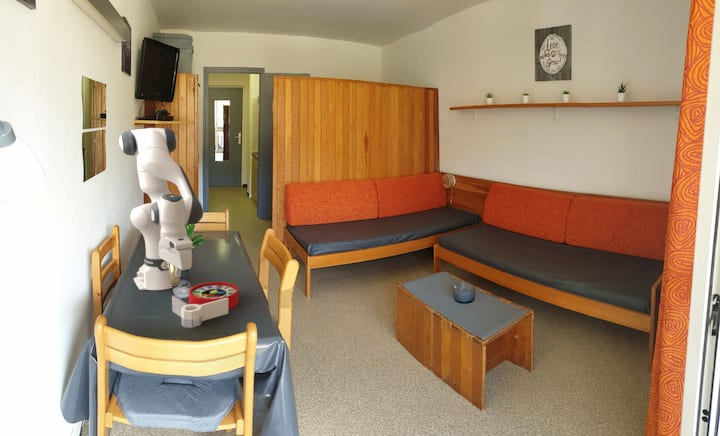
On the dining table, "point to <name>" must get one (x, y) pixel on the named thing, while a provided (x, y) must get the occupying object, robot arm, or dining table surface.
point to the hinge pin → (174, 279)
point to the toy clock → (214, 293)
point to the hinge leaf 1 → (176, 308)
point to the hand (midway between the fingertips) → (175, 275)
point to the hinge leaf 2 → (205, 310)
